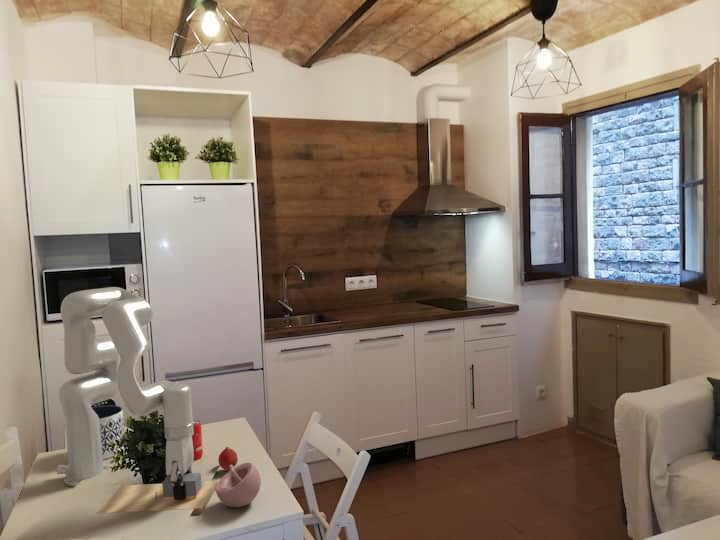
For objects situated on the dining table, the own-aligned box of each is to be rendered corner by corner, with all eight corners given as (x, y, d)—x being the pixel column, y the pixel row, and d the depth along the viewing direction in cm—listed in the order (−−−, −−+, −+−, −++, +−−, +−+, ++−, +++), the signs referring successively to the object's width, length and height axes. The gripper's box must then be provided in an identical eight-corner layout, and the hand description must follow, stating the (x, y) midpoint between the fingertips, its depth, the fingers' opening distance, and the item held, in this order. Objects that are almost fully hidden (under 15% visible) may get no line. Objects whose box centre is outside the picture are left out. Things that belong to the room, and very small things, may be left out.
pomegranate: (216, 470, 172) (214, 445, 171) (233, 465, 175) (231, 441, 174) (223, 476, 167) (222, 451, 166) (241, 471, 170) (239, 446, 170)
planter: (64, 460, 186) (60, 418, 185) (99, 442, 201) (96, 404, 200) (102, 464, 181) (99, 421, 180) (135, 445, 196) (132, 406, 195)
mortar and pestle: (214, 499, 153) (211, 459, 152) (257, 490, 157) (255, 451, 156) (219, 520, 141) (216, 476, 141) (265, 509, 145) (263, 467, 145)
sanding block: (163, 500, 150) (162, 482, 150) (169, 491, 155) (168, 474, 155) (196, 498, 150) (195, 480, 150) (201, 490, 155) (200, 473, 155)
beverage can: (189, 462, 179) (187, 426, 178) (184, 457, 183) (182, 422, 183) (205, 457, 182) (203, 422, 181) (199, 453, 186) (197, 418, 186)
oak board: (95, 518, 145) (95, 513, 145) (121, 490, 161) (121, 485, 161) (202, 513, 145) (201, 508, 145) (217, 485, 161) (217, 480, 161)
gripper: (175, 420, 160) (179, 480, 161) (154, 442, 143) (158, 510, 144) (201, 419, 160) (205, 479, 161) (182, 441, 143) (187, 508, 144)
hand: (183, 493), depth 153 cm, fingers closed on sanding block, 5 cm apart
